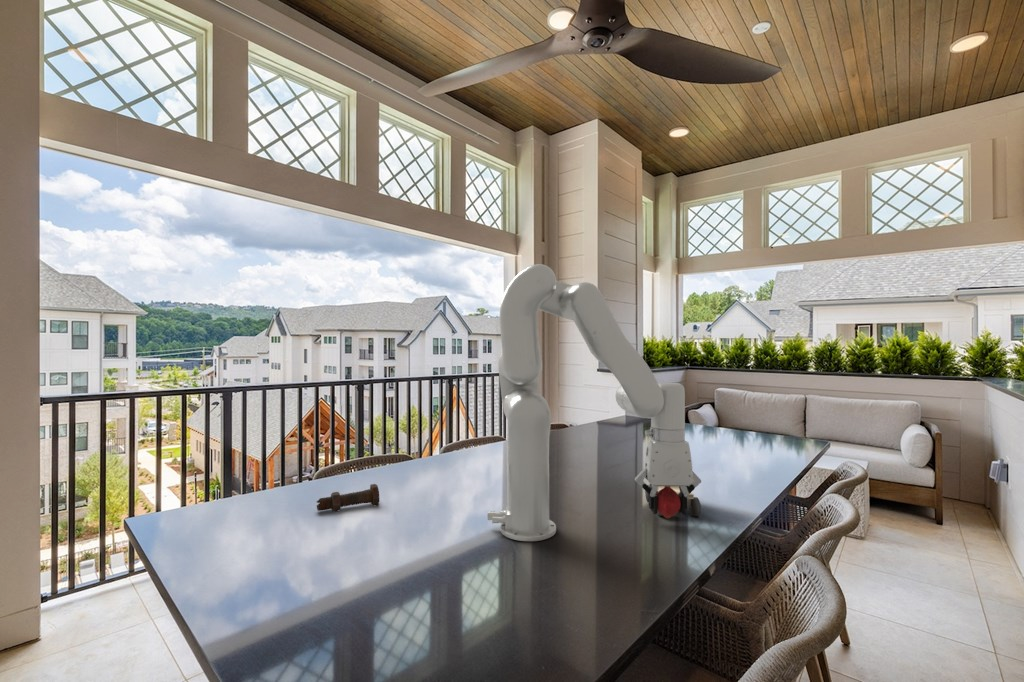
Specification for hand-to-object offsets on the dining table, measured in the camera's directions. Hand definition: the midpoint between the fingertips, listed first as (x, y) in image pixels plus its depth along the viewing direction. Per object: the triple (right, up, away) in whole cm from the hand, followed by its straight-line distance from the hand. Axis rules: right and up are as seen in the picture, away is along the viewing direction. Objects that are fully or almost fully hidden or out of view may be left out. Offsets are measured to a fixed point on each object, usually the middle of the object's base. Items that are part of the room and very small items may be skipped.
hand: (667, 511), depth 111 cm
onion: (0, -2, 0) cm, 2 cm away
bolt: (-79, -4, +12) cm, 80 cm away
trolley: (+4, -3, +10) cm, 12 cm away
